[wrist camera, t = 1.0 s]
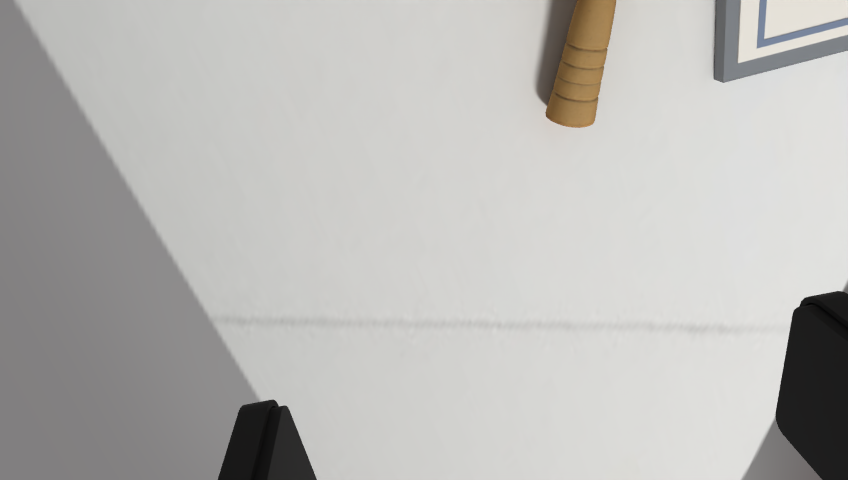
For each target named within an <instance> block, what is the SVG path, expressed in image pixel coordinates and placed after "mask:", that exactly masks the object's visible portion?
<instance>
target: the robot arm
mask: <svg viewBox="0 0 848 480" xmlns="http://www.w3.org/2000/svg"><path fill="white" fill-rule="evenodd" d="M776 421H777V424H778V427H779V429H780V431H781V432H782V434H783V435H784V436H785V437H786V438H787V440H788V441H789V442H790V443H791V444H792V445H793V446H794V448H795V449H796V450H797V451H798V452H799V453H800V454H801V456H802V457H803V458H804V459H805V460H806V461H807V463H808V464H809V465H810V466H811V467H812V468H813V469H814V471H815V472H816V473H817V474H818V475H819V476H820V478H822V480H848V294H847V293H845V292H841V291H836V292H831V293H826V294H821V295H815V296H810V297H807V298H804V299H803V300H802V301H801V304H800V306H799V307H798V308H796V309H795V310H794V312H793V316H792V322H791V327H790V333H789V339H788V345H787V351H786V356H785V362H784V368H783V374H782V379H781V385H780V391H779V397H778V402H777V408H776ZM218 480H317V479H316V476H315V474H314V471H313V469H312V466H311V464H310V461H309V459H308V456H307V454H306V451H305V449H304V446H303V444H302V441H301V439H300V436H299V433H298V431H297V428H296V426H295V423H294V421H293V418H292V416H291V413H290V411H289V409H288V407H287V406H280V407H279V406H278V404H277V402H276V401H275V400H268V401H263V402H258V403H252V404H247V405H243V406H242V407H241V408H240V410H239V412H238V416H237V419H236V422H235V425H234V429H233V432H232V435H231V438H230V442H229V445H228V448H227V451H226V455H225V458H224V461H223V464H222V468H221V471H220V474H219V477H218Z"/></svg>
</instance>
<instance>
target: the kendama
mask: <svg viewBox="0 0 848 480" xmlns="http://www.w3.org/2000/svg"><path fill="white" fill-rule="evenodd" d="M615 6H616V0H577V3H576V6H575V9H574V13H573V16H572V19H571V23H570V26H569V30H568V34H567V39H566V41H567V42H566V43H565V46H564V50H563V53H562V59H561V61H560V64H559V68H558V72H557V76H556V79H555V83H554V87H553V90H552V93H551V96H550V100H549V103H548V106H547V109H546V117H547V118H548V119H550V120H551V121H553V122H555V123H557V124H560V125H563V126H568V127H578V128H581V127H587V126H590V125H592V124H593V123H594V121H595V116H596V110H597V103H598V95H599V91H600V85H601V79H602V75H603V70H604V64H605V60H606V55H607V47H608V44H609V40H610V35H611V29H612V24H613V18H614V12H615Z"/></svg>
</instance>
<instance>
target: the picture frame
mask: <svg viewBox="0 0 848 480" xmlns="http://www.w3.org/2000/svg"><path fill="white" fill-rule="evenodd" d="M844 51H848V0H716V30H715V66H714V80H717V81H720V82H723V83H724V82H728V81H732V80H736V79H740V78H744V77H747V76H751V75H755V74H759V73H763V72H767V71H771V70H774V69H778V68H782V67H786V66H790V65H794V64H797V63H801V62H805V61H809V60H813V59H817V58H821V57H824V56H828V55H832V54H836V53H840V52H844Z"/></svg>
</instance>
